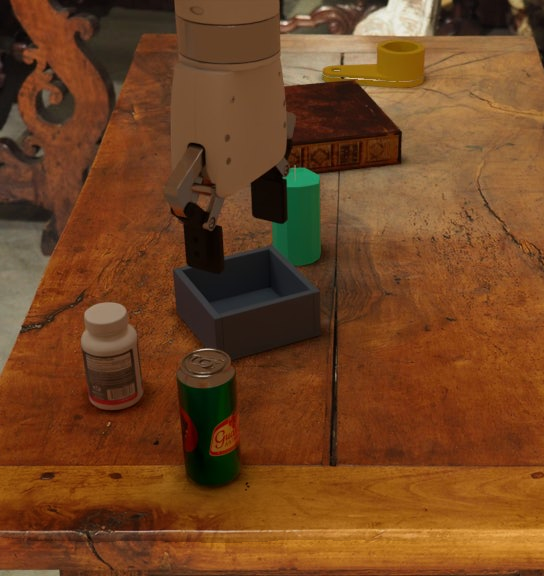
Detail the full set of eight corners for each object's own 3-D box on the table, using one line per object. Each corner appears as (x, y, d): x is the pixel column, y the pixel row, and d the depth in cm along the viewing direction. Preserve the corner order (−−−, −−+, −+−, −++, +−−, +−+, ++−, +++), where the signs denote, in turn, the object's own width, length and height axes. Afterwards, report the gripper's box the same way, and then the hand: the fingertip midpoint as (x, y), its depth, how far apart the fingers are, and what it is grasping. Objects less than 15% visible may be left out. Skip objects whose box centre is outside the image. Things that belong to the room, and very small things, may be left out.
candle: (293, 270, 130) (290, 180, 124) (263, 253, 134) (259, 164, 128) (331, 255, 133) (330, 166, 127) (300, 238, 137) (299, 151, 131)
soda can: (222, 497, 94) (214, 384, 88) (174, 480, 96) (163, 369, 90) (252, 463, 98) (246, 354, 92) (205, 448, 100) (196, 340, 94)
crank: (422, 72, 195) (423, 39, 192) (424, 87, 188) (426, 54, 185) (323, 71, 194) (323, 38, 191) (321, 86, 187) (321, 53, 184)
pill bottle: (101, 378, 110) (89, 295, 105) (151, 383, 109) (142, 300, 104) (80, 409, 105) (67, 324, 100) (133, 415, 104) (122, 329, 99)
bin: (217, 364, 112) (214, 319, 109) (176, 311, 121) (172, 268, 118) (320, 335, 117) (320, 290, 115) (273, 286, 126) (272, 244, 124)
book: (201, 186, 150) (199, 153, 148) (175, 126, 170) (172, 95, 167) (401, 163, 159) (402, 132, 156) (354, 108, 178) (354, 79, 176)
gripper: (247, 2, 87) (254, 194, 95) (113, 60, 73) (136, 279, 82) (329, 15, 84) (329, 211, 93) (206, 78, 70) (220, 302, 79)
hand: (239, 243), depth 87 cm, fingers open, 9 cm apart
